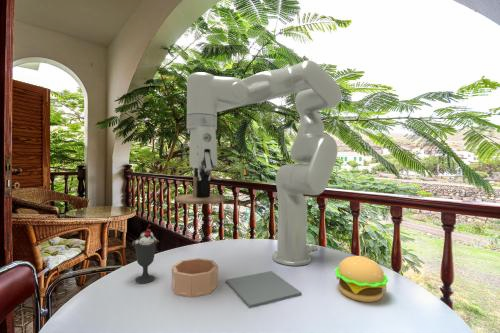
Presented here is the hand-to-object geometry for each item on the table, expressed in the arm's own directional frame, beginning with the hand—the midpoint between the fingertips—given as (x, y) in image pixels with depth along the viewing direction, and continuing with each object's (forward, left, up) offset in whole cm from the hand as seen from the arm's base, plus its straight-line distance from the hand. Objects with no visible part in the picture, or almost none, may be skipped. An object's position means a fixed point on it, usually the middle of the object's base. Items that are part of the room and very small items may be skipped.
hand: (201, 195), depth 66 cm
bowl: (+1, 0, -23) cm, 23 cm away
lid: (0, 0, -1) cm, 1 cm away
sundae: (+12, -9, -23) cm, 28 cm away
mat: (-14, +8, -23) cm, 28 cm away
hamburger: (-35, +20, -23) cm, 46 cm away
